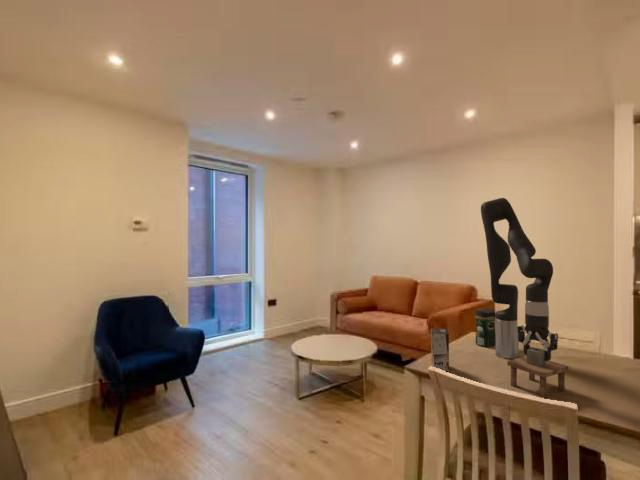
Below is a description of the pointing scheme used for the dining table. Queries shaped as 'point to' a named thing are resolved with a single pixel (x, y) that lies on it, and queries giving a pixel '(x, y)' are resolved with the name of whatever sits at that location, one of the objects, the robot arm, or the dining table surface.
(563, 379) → the footstool
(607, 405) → the dining table surface
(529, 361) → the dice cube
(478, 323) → the coffee jar
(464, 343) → the dining table surface
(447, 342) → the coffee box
